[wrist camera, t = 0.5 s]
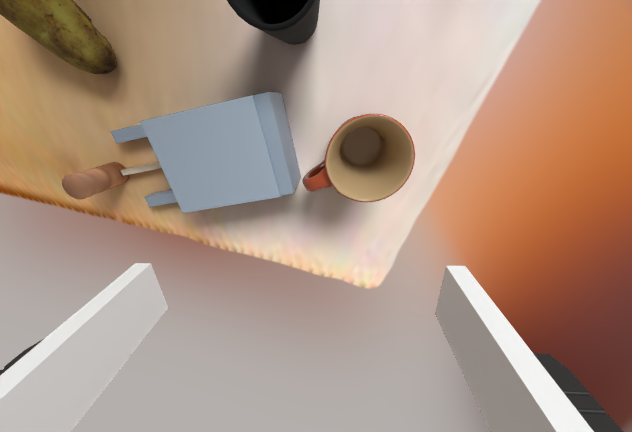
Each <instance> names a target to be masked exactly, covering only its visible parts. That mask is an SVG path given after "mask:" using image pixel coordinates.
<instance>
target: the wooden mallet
mask: <svg viewBox="0 0 632 432" xmlns="http://www.w3.org/2000/svg"><path fill="white" fill-rule="evenodd" d="M159 168H161V165H160V163H159V162H157V163H152V164H147V165H142V166H137V167H132V168H127V169H126V168H125V167H124V166H123V165H121V164H119V163H116V162H113V163H109V164H106V165H102V166H99V167H95V168H92V169H89V170H85V171H82V172H78V173H75V174H72V175H68V176H65V177H64V178H63V180H62V185H63V188H64V190H65V191H66V192H67V193H68V194H69V195H70V196H72V197H73V198H76V199H85V198H87V197H89V196H92V195H94V194H97V193H99V192H102V191H104V190H107V189H109V188H112V187H114V186H117V185H119V184H122V183H124V182H126V181H127V180H128V177H129V174H134V173H139V172H144V171H149V170H154V169H159Z"/></svg>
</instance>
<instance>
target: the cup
mask: <svg viewBox="0 0 632 432" xmlns="http://www.w3.org/2000/svg"><path fill="white" fill-rule="evenodd" d="M227 1H228V3H229V4H230V6H231V7H232V8H233V10H234V11H235V12H236V13H237V15H238V16H239V17H241V18H242V19H243V20H244V21H246V22H247V23H248V24H250V25H252V26H254V27H256V28H258V29H260V30H262V31H264V32H266V33H268V34H270V35H272V36H274V37H276V38H278V39H280V40H282V41H284V42H286V43H289V44H300V43H302V42H305V41H306V40H307V39H308V38H310V36H311V35H312V34H313V32H314V30H315V28H316V25H317V21H318V13H319V4H320V0H227Z"/></svg>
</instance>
